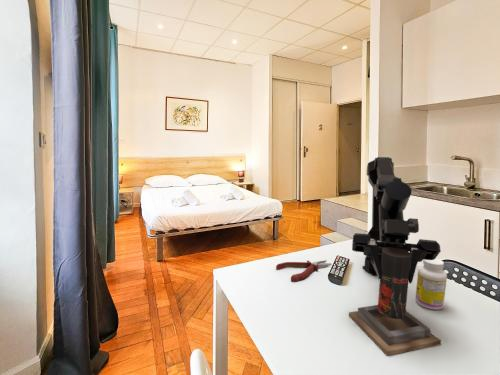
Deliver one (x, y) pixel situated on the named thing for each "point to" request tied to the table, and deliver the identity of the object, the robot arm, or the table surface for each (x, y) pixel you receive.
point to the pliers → (308, 265)
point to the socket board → (394, 331)
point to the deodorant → (394, 282)
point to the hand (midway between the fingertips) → (394, 280)
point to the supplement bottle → (431, 284)
